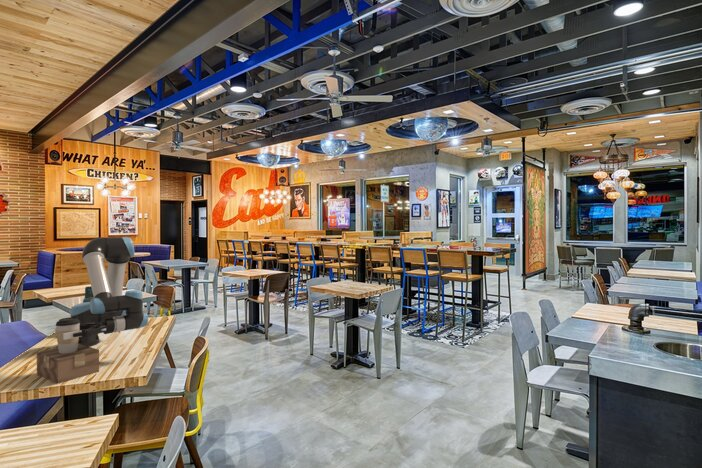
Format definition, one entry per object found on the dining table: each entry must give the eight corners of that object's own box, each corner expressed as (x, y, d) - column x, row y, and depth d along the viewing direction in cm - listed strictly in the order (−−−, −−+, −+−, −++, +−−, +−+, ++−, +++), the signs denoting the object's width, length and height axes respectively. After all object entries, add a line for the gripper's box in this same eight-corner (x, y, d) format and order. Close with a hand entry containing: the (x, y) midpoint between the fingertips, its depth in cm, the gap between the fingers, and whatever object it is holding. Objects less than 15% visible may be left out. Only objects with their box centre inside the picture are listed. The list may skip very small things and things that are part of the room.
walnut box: (35, 375, 169) (35, 352, 169) (77, 363, 183) (77, 343, 183) (57, 384, 159) (57, 360, 158) (99, 371, 173) (99, 349, 173)
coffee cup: (60, 355, 165) (60, 321, 165) (51, 352, 169) (51, 318, 169) (84, 350, 172) (84, 317, 172) (75, 346, 177) (75, 315, 177)
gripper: (122, 337, 177) (67, 347, 160) (104, 328, 193) (52, 337, 176) (122, 321, 177) (67, 330, 160) (103, 313, 193) (52, 321, 176)
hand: (59, 333), depth 168 cm, fingers open, 13 cm apart
